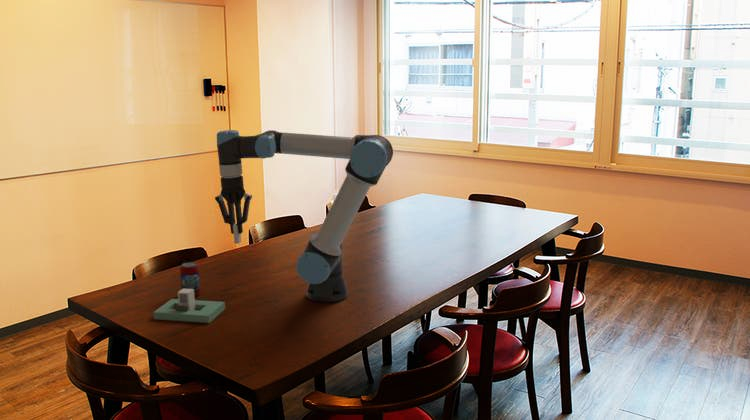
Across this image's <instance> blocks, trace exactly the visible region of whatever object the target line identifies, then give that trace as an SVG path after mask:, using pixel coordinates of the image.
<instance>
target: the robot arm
mask: <svg viewBox="0 0 750 420" xmlns="http://www.w3.org/2000/svg"><path fill="white" fill-rule="evenodd" d="M239 133H240V132H239V131H238V130H235V129H234V130H233V129H229V130H228V129H227V130H220V131H218V132H217V133H216V147H217V156H218V157H217V158H218V167H219V176H220V187H221V191H220V194H218V195H216V196H215V197H214V199H215V201H216V202H217V204H218V207H219V209H220V212H221V215H222V219H223V222H224V223H225V224H227V225H230V234H231V235H233V239H234V240H233V241H234V242H233V243H234V244H235V245H237V244H240V243H242V236H241V235H242V233H244V230H243V224H245V223H246V222H247V221H248V218H249V217H248V216H249V209H250V204H251V200H252V199H253V195H252V194H248V193H247V192H246V190H245V187H244V185H245V184H244V177H243V166H242V159H267V158H268V159H270V158H271V159H272V158H273V157H274V156H275V154H283V155H294V156H306V157H321V158H331V159H343V160H344V159H345V160H348V162H347V164H346V166H345V169H344V170H345V173H346V176H345V179H344V181H343V182H342V184H341V187H340V188H339V190H338V192H337V195H336V196H335V199H334V201H333V202H332V205H331V206H330V209H329V211H328V212H327V215H326V216H325V218H324V221H323V222H322V225H321V226H320V229H318V230H319V231H318V233H317V234H312V235H311V236H310V237H309V240H308V243H307V245H306V246H305V248H304V250H303V253H302V254H300V256H299V257H298V258H297V261H296V272H297V274H298V276H299V277H300V279H301V280H303V281H304V282H306V283H308V286H307V288H306V298H307V299H309V300H310V301H313V302H318V303H334V302H339V301H343V300H345V299H346V298H348V296H349V289H348V285H347V282H346V280H345V278H344V275H343V274H344V273H343V270H344V269H343V265H344V264H343V241H344V239H345V237H346V235H347V233H348V231H349V229H350V227H351V225H352V223H353V221H354V219H355V218H356V215H357V213H358V212H359V210H360V207H361V205H362V203H363V201H365V198H366V195H367V194H368V192H369V190H370V188H371V187H375V186H377V184H378V182H379V181H380V179H381V177H382V175H383V173H384V171H385V169H386V167H387V166H389V164H390V162H391V161H392V159H393V156H394V148H393V145H392V143H391V142H390V140H388V139H387V138H386V137H384V136H382V135H379V134H368V135H367V134H364V135H363V134H362V135H361V134H355V135H354V136H353V137H349V136H335V135H322V134H308V133H298V132H297V133H295V132H293V133H292V132H279V131H278V130H273V129H271V130H267V131H264V132H262V133H259V134H256V135H246V136H245V135H244V136H243V135H240V134H239ZM224 200H225V201H224ZM242 200H244V201H243V207H242ZM225 202H226V203H225ZM226 205H227V206H226Z"/></svg>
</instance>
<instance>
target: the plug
mask: <svg viewBox="0 0 750 420" xmlns="http://www.w3.org/2000/svg"><path fill="white" fill-rule="evenodd" d="M177 299H178V303H179V305H180V306H188V310H195V300H196V298H195V297H194V289H182V288H181V289H180V290H179V291H178V292H177Z"/></svg>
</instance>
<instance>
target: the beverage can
mask: <svg viewBox="0 0 750 420" xmlns="http://www.w3.org/2000/svg"><path fill="white" fill-rule="evenodd" d="M179 271H180V287H181V290H182V289H194V298H195V297H197V296H199V295H200V294H201V293H202V291H201V277H200V275H201V274H200V267H199V266H198V264H197V262H194V261H188V262H183V263H181V266H180V269H179Z"/></svg>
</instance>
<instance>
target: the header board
mask: <svg viewBox="0 0 750 420" xmlns="http://www.w3.org/2000/svg"><path fill="white" fill-rule="evenodd" d="M225 309H226V301H212V300H199V299H198V300H196V299H195V310H188V306H180V305H179V303H178V298H171V299H169V300H168V301H166V302H165V303H164V304H163V305H161V306H159V307H158V308H157V309H156V310H155V311H153V319H154V320H163V321H164V320H165V321H173V322H174V321H177V322H178V321H179V322H191V323H203V324H205V323H206V324H210V323H211V322H212V321H213V320H214V319H216V317H218V316H219V315H220V314H221V313H222V312H224V310H225Z"/></svg>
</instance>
